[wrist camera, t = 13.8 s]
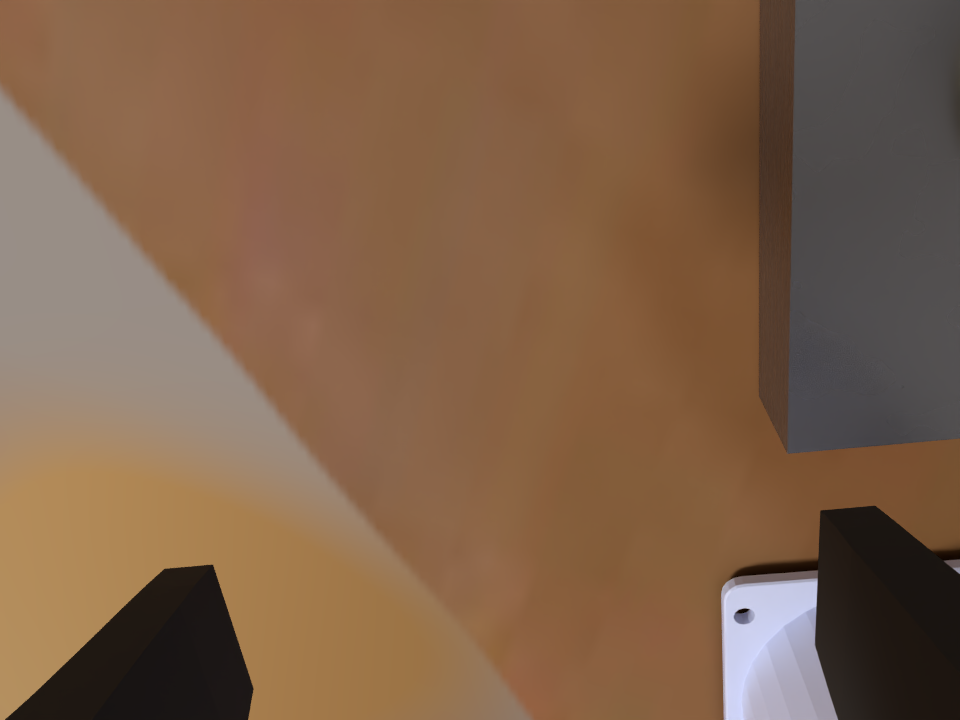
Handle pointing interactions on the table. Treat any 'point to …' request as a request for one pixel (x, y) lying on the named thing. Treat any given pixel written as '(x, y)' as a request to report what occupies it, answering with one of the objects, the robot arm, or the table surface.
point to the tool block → (859, 221)
